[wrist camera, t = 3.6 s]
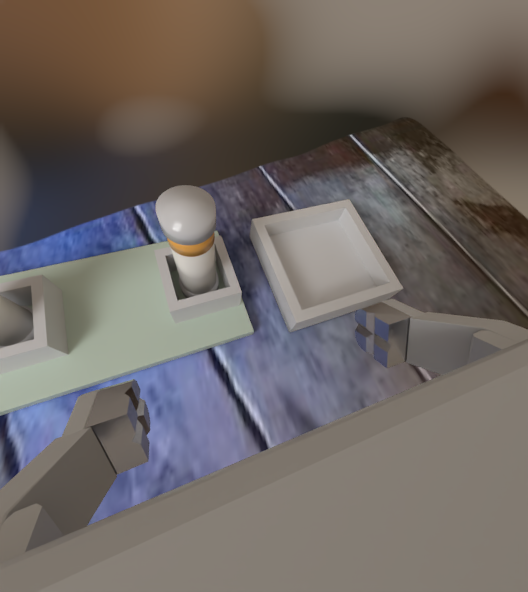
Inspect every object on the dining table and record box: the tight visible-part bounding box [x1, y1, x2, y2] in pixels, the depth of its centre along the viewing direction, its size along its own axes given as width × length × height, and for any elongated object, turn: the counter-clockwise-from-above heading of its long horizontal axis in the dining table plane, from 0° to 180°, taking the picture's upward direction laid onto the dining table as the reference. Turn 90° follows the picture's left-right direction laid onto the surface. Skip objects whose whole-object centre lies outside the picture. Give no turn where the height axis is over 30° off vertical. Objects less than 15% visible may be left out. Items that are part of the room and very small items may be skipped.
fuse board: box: [0, 231, 254, 416], centre depth 24 cm, size 12×22×4 cm, turn 110°
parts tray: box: [250, 199, 403, 333], centre depth 29 cm, size 12×12×3 cm
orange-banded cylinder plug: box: [156, 185, 219, 298], centre depth 22 cm, size 4×4×11 cm
